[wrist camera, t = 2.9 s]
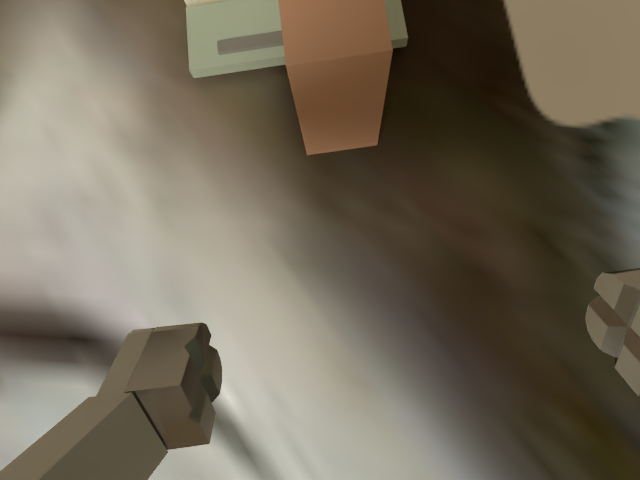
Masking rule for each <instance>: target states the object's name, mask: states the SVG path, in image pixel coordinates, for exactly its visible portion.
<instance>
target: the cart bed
mask: <svg viewBox="0 0 640 480" xmlns="http://www.w3.org/2000/svg"><path fill="white" fill-rule="evenodd" d="M184 1H185V3H186V5H187V7H191V6H198V5H204V4H210V3H217V2H223V1H229V0H184Z"/></svg>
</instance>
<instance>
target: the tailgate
mask: <svg viewBox="0 0 640 480" xmlns="http://www.w3.org/2000/svg"><path fill="white" fill-rule="evenodd" d="M384 4H385V10H386V15H387V21H388V26H389V32H390V37H391V43H392V48H399V47H406V45H407V41H408V35H407V30H406V24H405V19H404V14H403V9H402V4H401V0H384ZM186 19H187V37H188V55H189V71H190V72H191V74H192V76H193V77H194V78H199V77H205V76H212V75H219V74H226V73H232V72H239V71H246V70H252V69H259V68H266V67H272V66H279V65H286V63H285V54H284V46H283V37H282V28H281V19H280V11H279V2H278V0H229V1H223V2H217V3H210V4H204V5H198V6H191V7H186Z"/></svg>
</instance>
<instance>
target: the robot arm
mask: <svg viewBox="0 0 640 480" xmlns="http://www.w3.org/2000/svg"><path fill="white" fill-rule="evenodd" d="M594 290H595V291H596V293H597V294H598V295H599V296H598V297H597V298H596V299H595V300H593V301H592V302H591V303H590V304H589V305H588V309H587V313H586V323H587V329H588V332H589V334H590V336H591V338H592V340H593V341H594V342H595V344H596V345H597V346H598V347H599V349H600V350H602V351H604V352H606V353H608V354H609V355H611V356H613V357H615V368H616V370H617V371H618V372H619V373H620V374H621V376H622V377H623V378H624V379H625V381H626V382H627V383H628V384H629V385H630V387H631V388H632V389H633V390H634V391H635V393H636V394H637V395H638V396H640V268H635V269H628V270H620V271H612V272H605V273H602V274H601V275H600V276H599V277H598V278H597V280H596V283H595V286H594ZM210 338H211V334H210V331H209V329H208V327H207V325H206V324H204V323H193V324H183V325H173V326H163V327H156V328H149V329H138V330H133V331H132V332H130V333H129V334H128V335H127V336H126V338H125V340H124V342H123V344H122V346H121V348H120V350H119V352H118V354H117V356H116V358H115V360H114V362H113V364H112V366H111V368H110V370H109V372H108V374H107V376H106V378H105V380H104V382H103V384H102V386H101V388H100V390H99V392H98V394H97V396H95V397H89V398H87V399H86V400H85V401H84V402H83V403H81V404H80V405H79V406H78V407H77V408H75V409H74V410H73V411H72V412H71V413H69V414H68V415H67V416H66V417H65V418H63V419H62V420H61V421H60V422H59V423H58V424H56V425H55V426H54V427H53V428H52V429H50V430H49V431H48V432H47V433H46V434H44V435H43V436H42V437H41V438H40V439H38V440H37V441H36V442H35V443H34V444H32V445H31V446H30V447H29V448H28V449H27V450H25V451H24V452H23V453H22V454H21V455H19V456H18V457H17V458H16V459H15V460H13V461H12V462H11V463H10V464H9V465H7V466H6V467H5V468H4V469H3V470H1V471H0V480H147V479H148V478H149V477H150V475H151V474H152V473H153V471H154V470H155V469H156V467H157V466H158V465H159V463H160V462H161V461H162V459H163V458H164V457H165V455H166V454H167V453H168V451H167V450H169V449H176V448H183V447H190V446H197V445H204V444H209V443H210V438H211V434H212V429H213V424H214V419H215V414H216V413H215V410H214V408H213V406H212V402H213V401H214V400H215V399H216V398H217V396H218V395H219V394H220V389H221V384H222V366H221V361H220V357H219V354H218V351H217V350H216V349H215V348H213V347H212V346H210V345H209V342H210Z"/></svg>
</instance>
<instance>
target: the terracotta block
mask: <svg viewBox="0 0 640 480" xmlns="http://www.w3.org/2000/svg"><path fill="white" fill-rule="evenodd" d="M278 2H279V11H280V19H281V28H282V37H283V46H284V54H285V63H286V69H287V73H288V77H289V81H290V86H291V90H292V94H293V98H294V103H295V107H296V111H297V115H298V119H299V124H300V128H301V132H302V136H303V140H304V145H305V149H306V153H307V155H312V154H319V153H326V152H333V151H340V150H347V149H354V148H362V147H369V146H376V145H377V143H378V137H379V131H380V125H381V119H382V113H383V107H384V101H385V95H386V89H387V83H388V77H389V71H390V65H391V59H392V53H393V48H392V43H391V37H390V32H389V26H388V21H387V15H386V10H385V4H384V0H278Z"/></svg>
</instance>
